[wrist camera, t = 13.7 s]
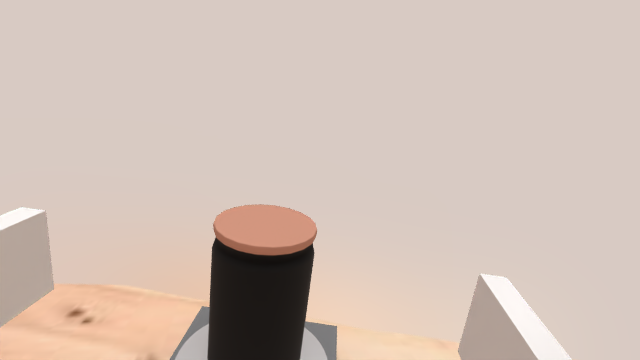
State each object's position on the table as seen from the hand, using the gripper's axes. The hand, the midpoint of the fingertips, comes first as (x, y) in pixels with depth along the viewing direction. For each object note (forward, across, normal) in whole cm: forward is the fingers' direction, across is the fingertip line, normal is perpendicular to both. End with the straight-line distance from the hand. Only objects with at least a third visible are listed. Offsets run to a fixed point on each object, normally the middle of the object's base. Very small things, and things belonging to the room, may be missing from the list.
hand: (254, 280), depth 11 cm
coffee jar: (+24, -4, -27) cm, 37 cm away
